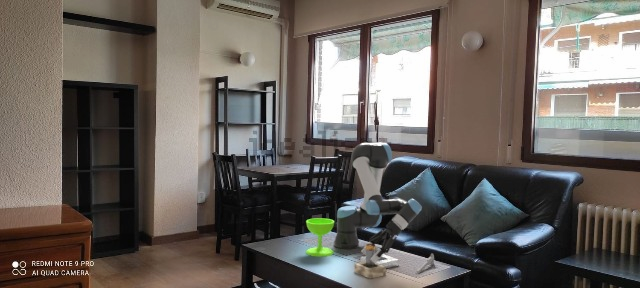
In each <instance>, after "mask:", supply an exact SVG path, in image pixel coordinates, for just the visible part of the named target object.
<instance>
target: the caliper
mask: <svg viewBox="0 0 640 288" xmlns="http://www.w3.org/2000/svg"><path fill="white" fill-rule="evenodd" d="M433 265H435V255H434V253H431V254H430V256H429V257H428V258H427V259H426V260H425V262H423V264H422V265H421V266H420V267H418V269H417V270H416V272H415V274H416V275H418V274H420V273H421V272H422V271H423V270H425V268H426V267H427V266H433Z"/></svg>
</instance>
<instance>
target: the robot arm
mask: <svg viewBox="0 0 640 288" xmlns="http://www.w3.org/2000/svg"><path fill="white" fill-rule="evenodd" d="M392 153H393V152H392V147H391V146H390V145H389V144H388V143H386V142H361V143H359V144H357V145H356V146H354V149H353V150H352V152H351V159H350V160H351V161H350V162H351V164H352V167H353V168H354V169H356V172H357V175H358V177H359V181H360V183H361V185H362V188H363V191H364V194H363V202H361V203H360V205H359V208H358V207H357V206H355V205H346V206H342V207H340V208H338V210H337V213H336V219H337V220H336V223H337V224H336V235H335V238H334V241H333V246H334V247H335V248H339V249H344V250H345V249H346V250H347V249H349V250H350V249H351V250H352V249H357V248H359V247H360V241H359V238H358V234H357V229H361V228H363V229H365V228H375V227H378V226H380V223H381V222H382V217H383V216H382V215H394V216H393V217H392V218H391V220H389V221H388V223H387V224H386V225H385V227H386V229H385V227H382V229H380V231H378V232H377V233H375V234H374V235H373V236H371V237H369V242H368V243H367V244H374V245H375V246H376V244H377V243H379V242H382V241H383V242H382V244H381V246H380V247H379V249H378V250H377V251H375V254H374V255H373V257H372V258H371V260H372V261H373V262H374V263H375V262H376V261H377V260H378V259H379V258H380V257H381V256H382V255H383V254H388V253H389V252H390V250H391V248H392V246H393V244H394V242H395V241H396V239H397V238H398V236H399V235H400V234H401V233H402V232H403V231H404V229H406V228H407V227H408V226H409V224H410V223H411V222H412V221H414V219H415V218H416V217H417V216H418V215H419V213H420V212H421V211H422V210H423V209H422V208H423V206H422V205H421V203H419V202H418V201H417V200H416V199H414V198H410V199H409V200H408V201H407V200H406V199H404V198H400V197H393V198H392V199H383V197H382V193H381V185H382V179H383V178H382V177H383V174H384V172H383V171H384V170H385V169H386V168H387V164H389V163H391V162H392V159H393V154H392ZM361 253H362V254H363V255H364V256H366V245H365V246H364V247H363V248H362V249H361Z"/></svg>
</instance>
